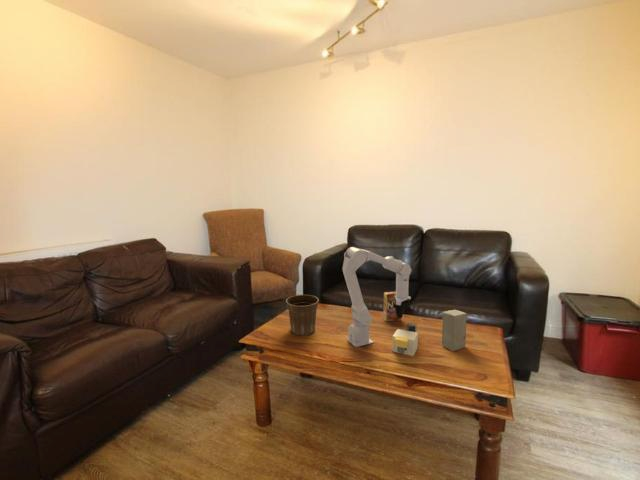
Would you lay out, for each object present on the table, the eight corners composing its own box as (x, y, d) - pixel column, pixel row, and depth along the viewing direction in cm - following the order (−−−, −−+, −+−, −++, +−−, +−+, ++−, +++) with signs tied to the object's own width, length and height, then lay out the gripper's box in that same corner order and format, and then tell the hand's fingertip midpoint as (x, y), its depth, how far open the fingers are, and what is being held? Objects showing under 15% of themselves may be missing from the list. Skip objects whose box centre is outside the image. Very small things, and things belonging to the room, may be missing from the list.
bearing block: (413, 356, 134) (413, 340, 133) (392, 351, 138) (392, 336, 137) (417, 347, 141) (418, 332, 140) (397, 343, 145) (397, 328, 144)
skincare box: (453, 352, 137) (454, 316, 134) (440, 345, 143) (441, 311, 140) (466, 347, 140) (468, 313, 138) (453, 340, 147) (454, 307, 144)
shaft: (405, 355, 131) (405, 343, 131) (395, 353, 133) (395, 341, 132) (416, 335, 150) (416, 324, 149) (407, 333, 151) (408, 322, 151)
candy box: (385, 321, 169) (386, 294, 167) (383, 318, 173) (383, 291, 171) (401, 320, 170) (402, 293, 168) (398, 317, 174) (399, 290, 172)
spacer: (406, 348, 131) (406, 341, 130) (394, 345, 133) (394, 339, 133) (408, 344, 134) (408, 338, 133) (396, 342, 136) (397, 335, 136)
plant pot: (322, 335, 154) (322, 303, 152) (289, 339, 151) (288, 307, 148) (315, 322, 170) (314, 293, 168) (285, 325, 166) (284, 296, 164)
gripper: (407, 292, 142) (406, 321, 145) (414, 284, 155) (413, 310, 157) (391, 290, 146) (391, 319, 148) (399, 282, 158) (399, 308, 160)
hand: (401, 314), depth 153 cm, fingers open, 7 cm apart
